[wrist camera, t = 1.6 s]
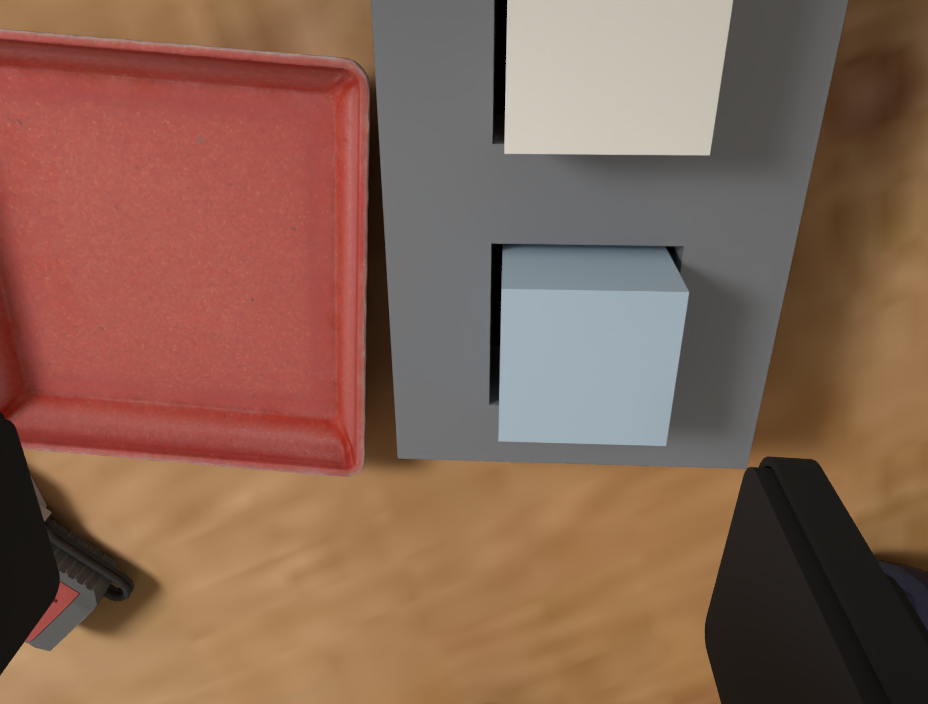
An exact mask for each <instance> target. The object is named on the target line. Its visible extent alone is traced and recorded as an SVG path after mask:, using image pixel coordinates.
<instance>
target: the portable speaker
mask: <svg viewBox="0 0 928 704" xmlns="http://www.w3.org/2000/svg"><path fill="white" fill-rule="evenodd" d="M877 561H878V563H879V565H880V566H881V568H882V570H883V571H884V573H886V574H888V575H889V576H891V577H893V578H894V579H895V580H896V582H897V583H898V584H899V585H900V587H901V588H902V589H903V591H904V593H905V594H906V596H907V597H908V599H909V601H910V602H911V604H912V606H913V607H914V609H915V611H916V612H917V614H918V615H919V617H920V619H921V620H922V622H923V624H924V625H925V627H926V628H927V630H928V573H927V572H925V571H923V570H921V569H917V568H913V567H909V566H905V565H901V564H896V563H890V562H884V561H879V560H877Z"/></svg>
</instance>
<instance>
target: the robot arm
mask: <svg viewBox="0 0 928 704" xmlns="http://www.w3.org/2000/svg"><path fill="white" fill-rule="evenodd" d="M59 584H60V574H59V570H58V566H57V563H56V559H55V556H54V553H53V549H52V546H51V543H50V539H49V536H48V533H47V529H46V526H45V523H44V519H43V516H42V513H41V509H40V506H39V503H38V499H37V496H36V493H35V489H34V486H33V482H32V479H31V476H30V472H29V469H28V466H27V462H26V459H25V456H24V452H23V449H22V446H21V442H20V439H19V436H18V432H17V429H16V427H15V425H14V424H13V423H12V422H11V421H10V420H7V419H5V417H4V415H3V414H2V413H1V412H0V675H1V673H2V672H3V671H4V669H5V668H6V667H7V665H8V664H9V662H10V661H11V660H12V658H13V657H14V655H15V654H16V653H17V651H18V650H19V648H20V647H21V646H22V644H23V643H24V642H25V640H26V639H27V637H28V636H29V635H30V633H31V632H32V630H33V629H34V628H35V626H36V625H37V623H38V622H39V621H40V619H41V618H42V617H43V615H44V614H45V612H46V611H47V610H48V608H49V607H50V605H51V604H52V602H53V601H54V599H55V597H56V595H57V592H58V589H59ZM705 643H706V649H707V653H708V657H709V660H710V664H711V668H712V671H713V675H714V679H715V682H716V686H717V690H718V693H719V697H720V700H721V704H928V630H927V628H926V627H925V625H924V624H923V622H922V620H921V619H920V617H919V615H918V614H917V612H916V611H915V609H914V607H913V606H912V604H911V602H910V601H909V599H908V597H907V596H906V594H905V593H904V591H903V589H902V588H901V587H900V585H899V584H898V583H897V582H896V580H895V579H894V578H893V577H891V576H889V575H888V574H886V573H884V571H883V570H882V568H881V566H880V565H879V563H878V561H877V560H876V558H875V556H874V555H873V553H872V551H871V550H870V548H869V546H868V545H867V543H866V541H865V540H864V538H863V536H862V535H861V533H860V531H859V530H858V528H857V526H856V525H855V523H854V521H853V520H852V518H851V516H850V515H849V513H848V511H847V510H846V508H845V506H844V505H843V503H842V501H841V500H840V498H839V496H838V495H837V493H836V491H835V490H834V488H833V486H832V485H831V483H830V481H829V480H828V478H827V476H826V475H825V473H824V471H823V470H822V468H821V466H820V465H819V464H818V463H817V462H816V461H815V460H812V459H799V458H783V457H765V458H764V459H763V460H762V461H761V463H760V465H759V468H757V467H749V468H747V470H746V471H745V474H744V476H743V480H742V484H741V487H740V491H739V495H738V499H737V503H736V507H735V510H734V514H733V518H732V522H731V526H730V529H729V533H728V537H727V541H726V545H725V548H724V552H723V556H722V560H721V564H720V568H719V571H718V575H717V579H716V583H715V587H714V590H713V594H712V598H711V602H710V606H709V609H708V613H707V617H706V622H705Z"/></svg>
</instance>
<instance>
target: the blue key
mask: <svg viewBox="0 0 928 704" xmlns="http://www.w3.org/2000/svg"><path fill="white" fill-rule="evenodd" d="M688 297H689V291H688V289H687V287H686V285H685V283H684V281H683V279H682V277H681V275H680V274H679V272H678V270H677V268H676V266H675V264H674V262H673V260H672V258H671V256H670V255H669V253H668V251H667V249H666V247H665V246H630V245H559V244H503V252H502V289H501V338H500V387H499V436H498V441H503V442H539V443H575V444H611V445H647V446H666V443H667V436H668V430H669V423H670V416H671V410H672V403H673V397H674V390H675V383H676V377H677V370H678V363H679V357H680V350H681V343H682V337H683V330H684V324H685V317H686V310H687V304H688Z"/></svg>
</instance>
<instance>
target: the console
mask: <svg viewBox="0 0 928 704" xmlns="http://www.w3.org/2000/svg"><path fill="white" fill-rule="evenodd" d="M847 5H848V0H733V5H732V12H731V18H730V25H729V31H728V38H727V45H726V51H725V58H724V65H723V71H722V78H721V85H720V91H719V98H718V104H717V111H716V118H715V124H714V131H713V138H712V144H711V151H710V155H593V154H504V141H505V115H495V95H496V25H497V0H371V9H372V26H373V43H374V61H375V78H376V95H377V112H378V129H379V146H380V164H381V181H382V198H383V215H384V232H385V249H386V266H387V284H388V301H389V318H390V335H391V352H392V369H393V387H394V404H395V421H396V438H397V455H398V459H428V460H463V461H497V462H531V463H565V464H599V465H634V466H668V467H702V468H736V469H747V465H748V461H749V456H750V451H751V447H752V442H753V438H754V433H755V428H756V424H757V419H758V414H759V410H760V405H761V401H762V396H763V391H764V387H765V382H766V378H767V373H768V368H769V364H770V359H771V355H772V350H773V345H774V341H775V336H776V332H777V327H778V322H779V318H780V313H781V309H782V304H783V299H784V295H785V290H786V286H787V281H788V276H789V272H790V267H791V262H792V258H793V253H794V249H795V244H796V239H797V235H798V230H799V226H800V221H801V216H802V212H803V207H804V203H805V198H806V193H807V189H808V184H809V180H810V175H811V170H812V166H813V161H814V157H815V152H816V147H817V143H818V138H819V134H820V129H821V124H822V120H823V115H824V110H825V106H826V101H827V97H828V92H829V87H830V83H831V78H832V74H833V69H834V64H835V60H836V55H837V51H838V46H839V41H840V37H841V32H842V28H843V23H844V18H845V14H846V9H847ZM493 244H559V245H630V246H665V247H666V249H667V251H668V253H669V255H670V256H671V258H672V260H673V262H674V264H675V266H676V268H677V270H678V272H679V274H680V275H681V277H682V279H683V281H684V283H685V285H686V287H687V289H688V291H689V297H688V304H687V310H686V317H685V324H684V330H683V337H682V343H681V350H680V357H679V363H678V370H677V377H676V383H675V390H674V397H673V403H672V410H671V416H670V423H669V430H668V436H667V443H666V446H647V445H611V444H575V443H539V442H503V441H498V436H499V387H500V345H492V304H493Z"/></svg>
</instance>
